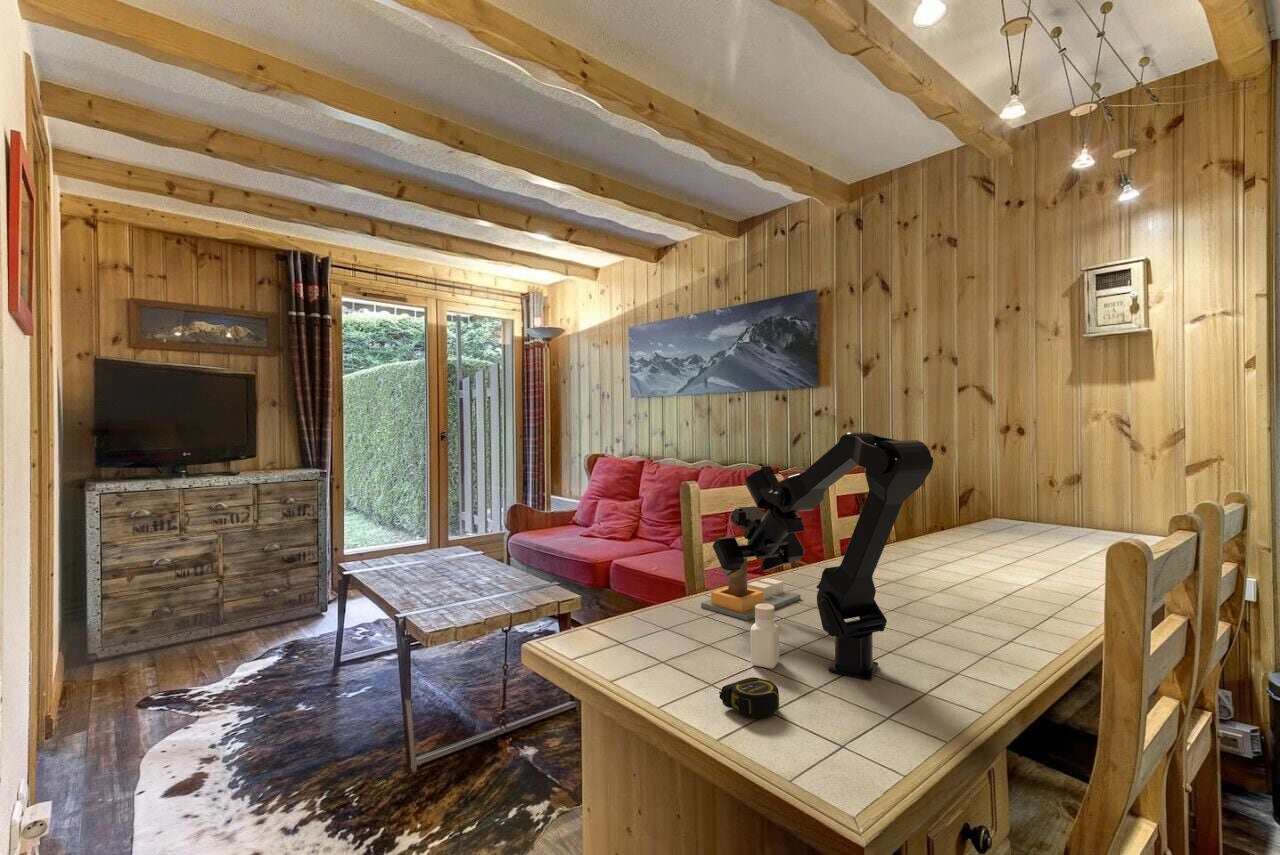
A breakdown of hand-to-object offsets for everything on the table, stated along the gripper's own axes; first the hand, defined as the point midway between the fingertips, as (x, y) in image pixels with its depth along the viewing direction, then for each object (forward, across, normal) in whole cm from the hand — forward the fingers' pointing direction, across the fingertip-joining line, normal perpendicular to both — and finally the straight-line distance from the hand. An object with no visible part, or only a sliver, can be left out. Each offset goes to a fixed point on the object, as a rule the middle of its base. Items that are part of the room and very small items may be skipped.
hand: (743, 571), depth 125 cm
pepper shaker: (-11, +12, +23) cm, 28 cm away
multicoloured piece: (+9, -5, +3) cm, 10 cm away
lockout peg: (+7, 0, +4) cm, 8 cm away
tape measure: (-19, +23, +32) cm, 44 cm away
